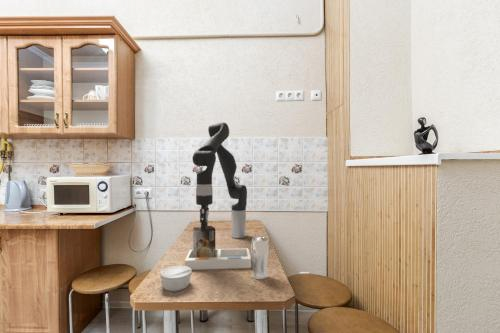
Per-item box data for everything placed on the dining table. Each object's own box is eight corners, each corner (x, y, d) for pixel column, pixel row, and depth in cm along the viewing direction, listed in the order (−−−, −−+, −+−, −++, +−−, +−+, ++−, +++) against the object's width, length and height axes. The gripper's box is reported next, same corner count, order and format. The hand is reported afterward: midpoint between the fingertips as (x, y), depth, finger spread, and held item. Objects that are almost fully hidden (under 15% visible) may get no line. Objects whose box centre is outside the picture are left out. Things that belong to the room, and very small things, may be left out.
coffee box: (211, 258, 119) (212, 225, 119) (215, 263, 113) (216, 228, 113) (192, 261, 115) (193, 227, 115) (195, 266, 109) (196, 230, 109)
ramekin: (183, 294, 85) (183, 278, 85) (154, 291, 87) (154, 276, 87) (196, 280, 96) (196, 266, 96) (169, 277, 98) (169, 264, 98)
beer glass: (250, 273, 102) (250, 236, 103) (267, 272, 103) (267, 236, 103) (252, 280, 95) (252, 241, 96) (269, 279, 96) (270, 241, 96)
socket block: (190, 257, 119) (190, 249, 120) (248, 256, 122) (248, 247, 122) (184, 270, 105) (184, 259, 105) (250, 267, 108) (251, 258, 108)
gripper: (197, 192, 121) (197, 225, 121) (194, 195, 107) (194, 233, 107) (213, 192, 122) (213, 225, 122) (211, 195, 107) (211, 232, 107)
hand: (204, 228), depth 114 cm, fingers open, 8 cm apart
